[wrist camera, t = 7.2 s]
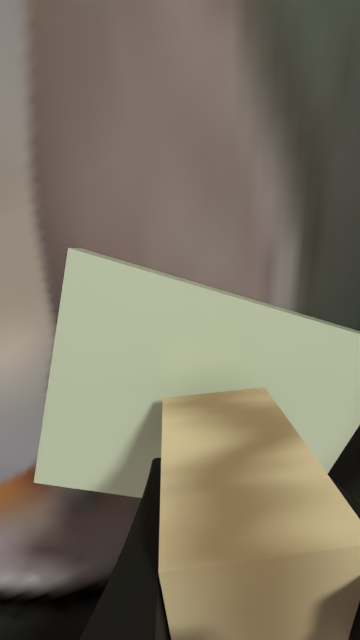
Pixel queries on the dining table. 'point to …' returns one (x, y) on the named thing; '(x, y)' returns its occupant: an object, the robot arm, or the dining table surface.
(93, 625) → the robot arm
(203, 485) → the maple block
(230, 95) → the dining table surface
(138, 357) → the green tile
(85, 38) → the dining table surface
